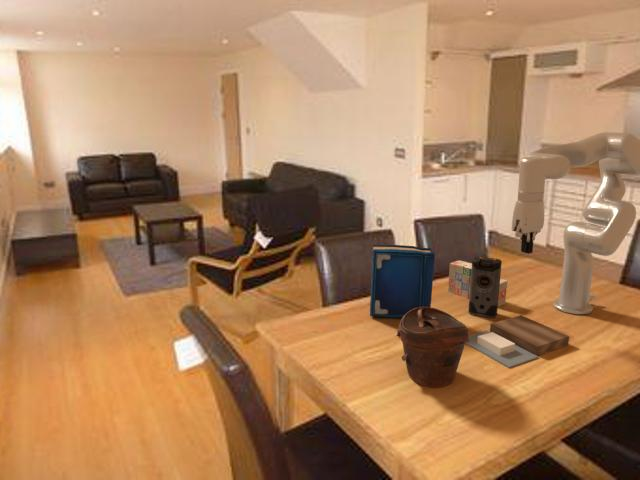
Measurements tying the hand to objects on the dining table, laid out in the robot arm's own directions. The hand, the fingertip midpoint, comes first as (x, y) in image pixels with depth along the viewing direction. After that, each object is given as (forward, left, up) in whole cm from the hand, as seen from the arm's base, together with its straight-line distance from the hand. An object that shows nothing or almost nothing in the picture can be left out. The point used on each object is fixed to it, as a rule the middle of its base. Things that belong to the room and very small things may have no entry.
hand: (526, 252), depth 159 cm
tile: (+21, +9, -23) cm, 33 cm away
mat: (+20, +9, -25) cm, 34 cm away
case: (+48, +11, -25) cm, 55 cm away
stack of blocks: (-4, -24, -25) cm, 35 cm away
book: (+31, -25, -25) cm, 47 cm away
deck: (+7, +9, -25) cm, 28 cm away
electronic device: (+5, -12, -25) cm, 28 cm away
